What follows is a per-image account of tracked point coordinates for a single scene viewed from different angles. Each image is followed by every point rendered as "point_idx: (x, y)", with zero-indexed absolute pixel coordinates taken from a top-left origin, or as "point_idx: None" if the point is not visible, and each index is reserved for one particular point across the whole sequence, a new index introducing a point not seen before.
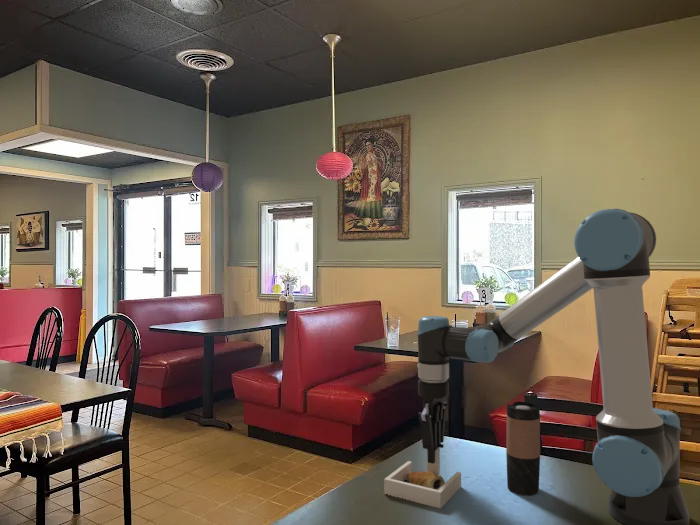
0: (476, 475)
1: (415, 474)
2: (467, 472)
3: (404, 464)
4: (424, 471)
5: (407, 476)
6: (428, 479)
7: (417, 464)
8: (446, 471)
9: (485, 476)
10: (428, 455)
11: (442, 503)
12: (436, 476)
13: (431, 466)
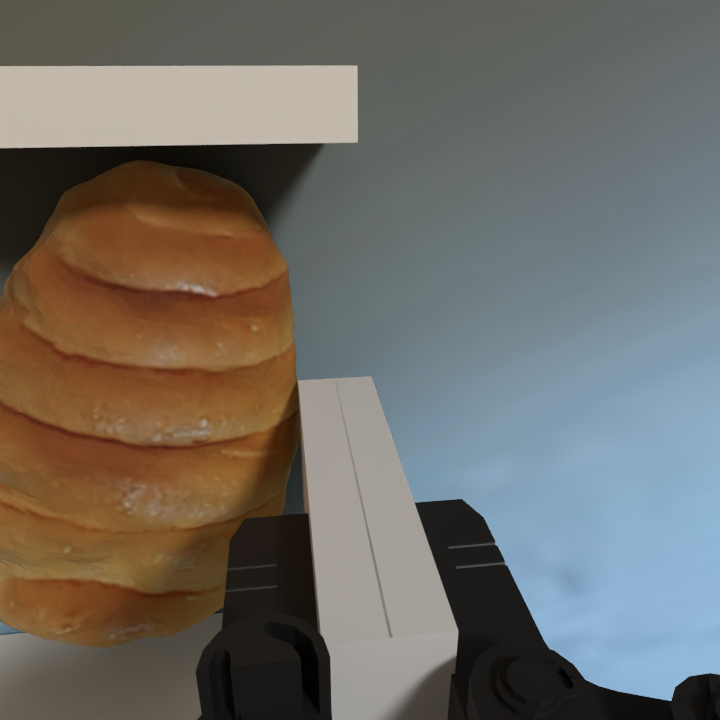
0: (632, 618)
1: (43, 359)
2: (669, 547)
3: (164, 81)
4: (184, 432)
5: (74, 197)
6: (5, 563)
7: (710, 21)
8: (623, 400)
9: (638, 668)
10: (222, 625)
11: None
12: (77, 643)
13: (305, 494)
